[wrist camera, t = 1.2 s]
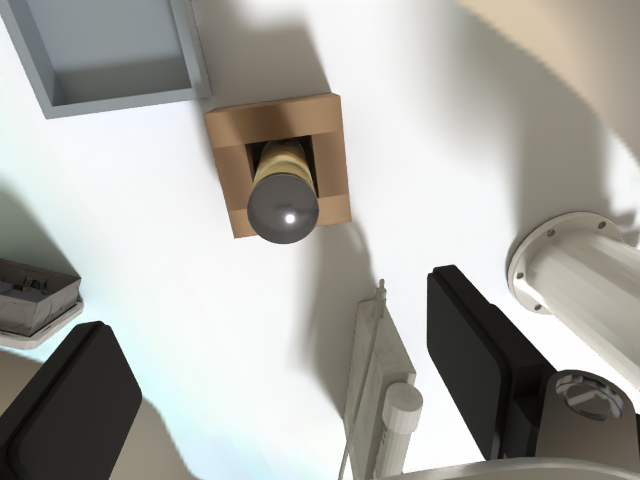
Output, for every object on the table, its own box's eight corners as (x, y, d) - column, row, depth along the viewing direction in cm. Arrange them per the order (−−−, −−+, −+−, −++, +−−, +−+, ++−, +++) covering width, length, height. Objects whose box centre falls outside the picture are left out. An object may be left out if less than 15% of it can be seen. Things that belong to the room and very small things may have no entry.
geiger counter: (403, 542, 36) (459, 350, 26) (342, 547, 35) (373, 352, 25) (372, 421, 49) (400, 259, 38) (326, 423, 48) (342, 259, 37)
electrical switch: (-16, 286, 35) (-110, 343, 26) (-11, 239, 34) (-109, 283, 25) (86, 309, 37) (30, 369, 29) (95, 266, 36) (39, 315, 27)
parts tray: (169, -90, 25) (155, -110, 22) (212, 95, 30) (205, 97, 27) (-7, -69, 24) (-44, -87, 21) (67, 115, 29) (45, 119, 27)
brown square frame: (331, 92, 30) (340, 95, 26) (342, 202, 35) (351, 221, 30) (215, 108, 30) (203, 114, 26) (241, 217, 34) (234, 238, 30)
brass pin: (302, 133, 32) (314, 171, 19) (308, 176, 33) (322, 238, 21) (257, 139, 32) (239, 182, 19) (266, 182, 33) (254, 248, 21)
